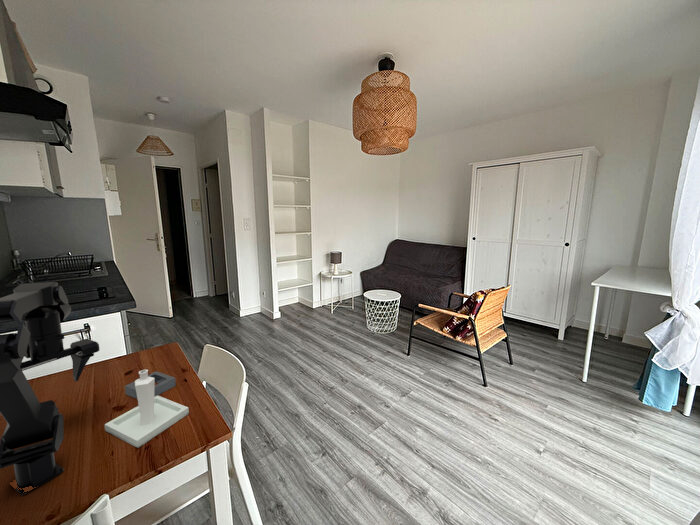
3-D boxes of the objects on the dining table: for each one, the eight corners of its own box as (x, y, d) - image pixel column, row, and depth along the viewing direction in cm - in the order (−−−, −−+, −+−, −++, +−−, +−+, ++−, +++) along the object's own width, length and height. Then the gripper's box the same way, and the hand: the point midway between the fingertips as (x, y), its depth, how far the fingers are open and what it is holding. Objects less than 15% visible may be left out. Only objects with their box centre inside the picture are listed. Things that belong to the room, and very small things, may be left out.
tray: (188, 413, 82) (188, 407, 82) (137, 447, 70) (137, 440, 69) (157, 401, 88) (157, 395, 88) (105, 431, 75) (104, 424, 75)
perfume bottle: (159, 413, 81) (155, 365, 79) (154, 423, 77) (150, 373, 75) (140, 417, 80) (136, 368, 78) (135, 427, 76) (130, 376, 74)
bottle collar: (175, 385, 96) (175, 377, 96) (145, 402, 87) (144, 393, 87) (156, 378, 100) (156, 371, 100) (125, 394, 91) (124, 385, 90)
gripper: (76, 315, 81) (82, 366, 83) (-30, 340, 64) (-18, 402, 66) (97, 322, 76) (103, 375, 78) (-10, 350, 59) (1, 416, 62)
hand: (52, 389), depth 71 cm, fingers open, 9 cm apart
